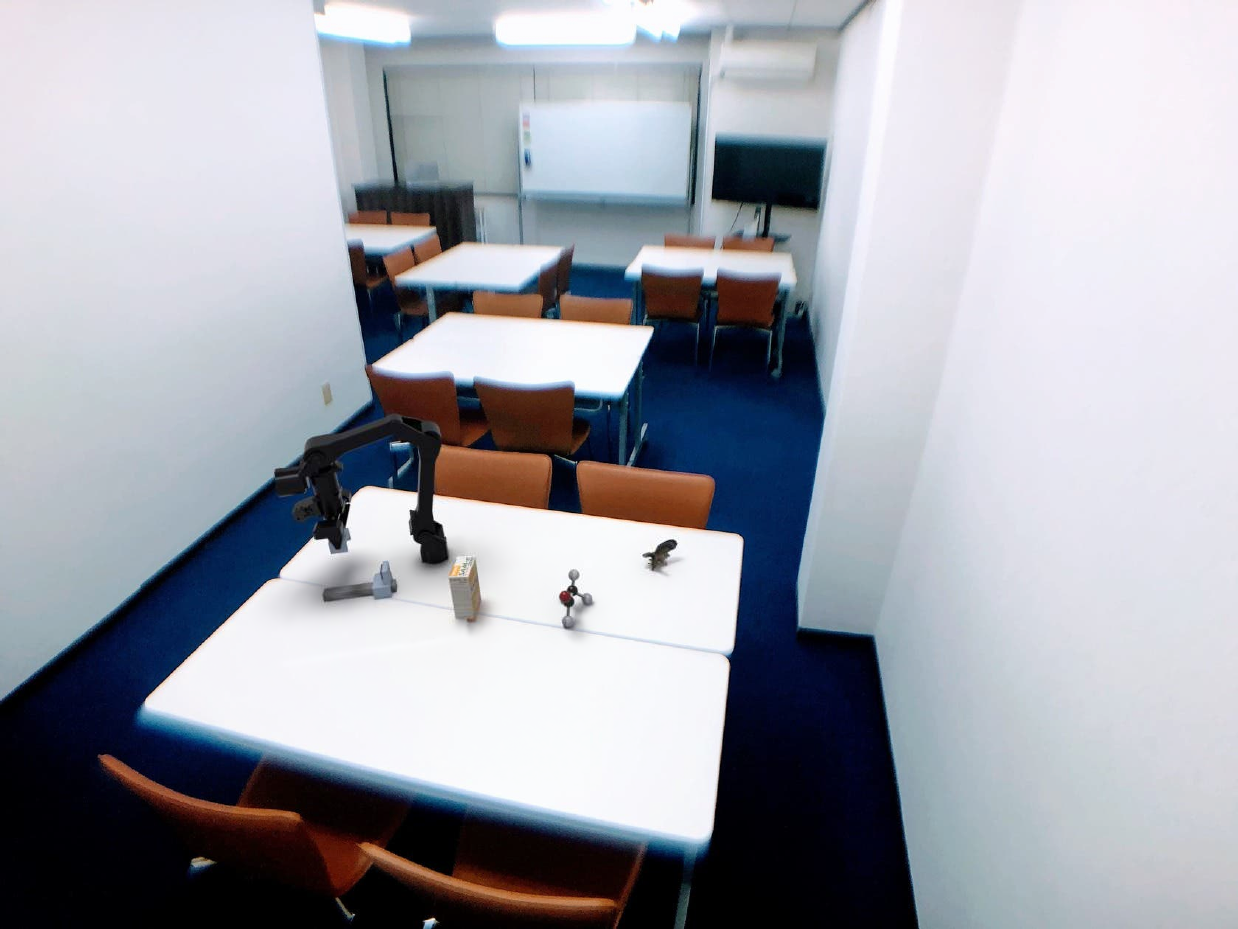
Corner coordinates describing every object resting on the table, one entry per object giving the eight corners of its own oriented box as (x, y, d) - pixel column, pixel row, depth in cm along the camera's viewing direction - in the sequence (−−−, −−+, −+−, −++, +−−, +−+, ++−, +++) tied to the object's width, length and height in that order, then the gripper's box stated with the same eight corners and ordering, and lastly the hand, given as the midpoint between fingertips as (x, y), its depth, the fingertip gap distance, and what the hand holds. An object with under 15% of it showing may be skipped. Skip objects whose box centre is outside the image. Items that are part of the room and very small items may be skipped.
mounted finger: (393, 581, 174) (388, 558, 171) (391, 596, 169) (386, 573, 166) (377, 583, 174) (371, 560, 170) (374, 599, 169) (369, 575, 165)
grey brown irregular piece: (672, 573, 176) (684, 548, 182) (656, 553, 173) (669, 529, 180) (650, 577, 181) (662, 554, 187) (634, 558, 178) (647, 535, 185)
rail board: (400, 579, 177) (398, 569, 175) (398, 601, 169) (396, 592, 168) (327, 589, 174) (324, 579, 172) (321, 612, 166) (318, 602, 165)
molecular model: (593, 599, 169) (591, 564, 164) (583, 633, 158) (582, 597, 153) (560, 596, 170) (558, 562, 165) (549, 630, 160) (546, 594, 154)
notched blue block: (351, 538, 176) (345, 514, 172) (347, 552, 170) (341, 527, 167) (334, 540, 175) (328, 516, 171) (330, 554, 170) (324, 529, 166)
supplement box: (475, 621, 162) (468, 577, 156) (455, 621, 162) (447, 577, 156) (482, 598, 170) (476, 555, 163) (462, 598, 170) (456, 555, 163)
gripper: (298, 473, 171) (313, 525, 179) (282, 513, 155) (298, 568, 163) (345, 468, 173) (357, 520, 181) (334, 507, 157) (348, 562, 164)
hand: (340, 542), depth 172 cm, fingers closed on notched blue block, 6 cm apart
